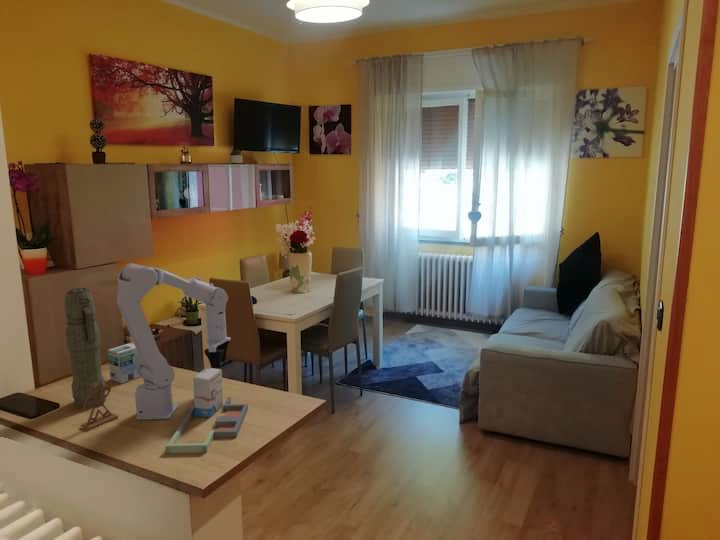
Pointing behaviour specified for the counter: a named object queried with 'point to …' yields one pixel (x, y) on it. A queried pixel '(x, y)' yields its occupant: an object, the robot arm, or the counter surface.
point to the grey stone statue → (83, 346)
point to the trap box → (226, 428)
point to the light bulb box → (123, 363)
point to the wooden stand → (106, 416)
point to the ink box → (208, 392)
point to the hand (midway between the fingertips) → (219, 366)
